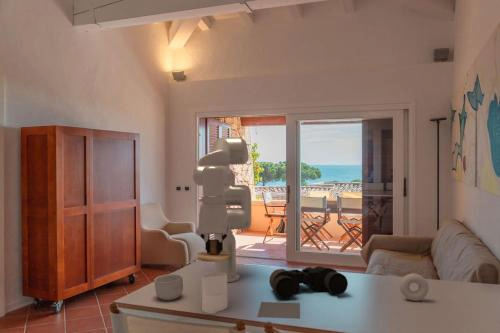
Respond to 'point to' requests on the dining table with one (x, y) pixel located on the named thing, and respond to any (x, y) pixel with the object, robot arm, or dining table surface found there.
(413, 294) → the donut
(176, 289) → the teacup
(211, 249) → the oak lid
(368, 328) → the dining table surface
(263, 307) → the rubber mat
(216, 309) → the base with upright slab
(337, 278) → the binoculars
